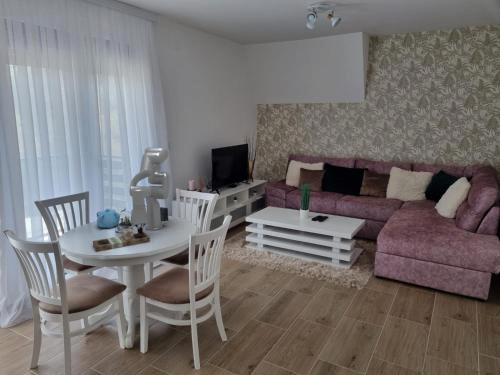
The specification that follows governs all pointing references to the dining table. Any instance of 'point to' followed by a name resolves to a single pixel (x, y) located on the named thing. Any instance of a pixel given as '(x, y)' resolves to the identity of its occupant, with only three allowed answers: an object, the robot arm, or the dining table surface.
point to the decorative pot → (107, 218)
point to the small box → (164, 214)
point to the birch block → (128, 234)
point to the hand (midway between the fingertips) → (140, 233)
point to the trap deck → (120, 242)
